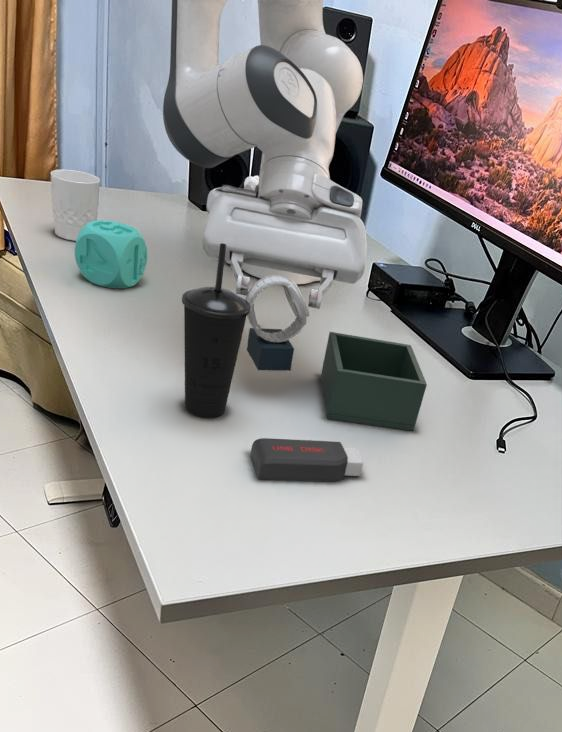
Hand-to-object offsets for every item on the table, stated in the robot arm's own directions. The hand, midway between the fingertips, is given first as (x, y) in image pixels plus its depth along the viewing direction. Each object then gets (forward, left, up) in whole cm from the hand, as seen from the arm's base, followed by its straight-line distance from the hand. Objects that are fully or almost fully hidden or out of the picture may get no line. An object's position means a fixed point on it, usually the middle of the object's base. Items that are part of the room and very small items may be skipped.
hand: (278, 299), depth 94 cm
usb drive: (+19, +5, -13) cm, 23 cm away
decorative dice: (-32, -24, -13) cm, 42 cm away
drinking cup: (+8, -7, -13) cm, 16 cm away
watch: (-1, 0, -9) cm, 9 cm away
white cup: (-51, -33, -13) cm, 62 cm away
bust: (-79, -1, -13) cm, 80 cm away
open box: (-1, +14, -12) cm, 19 cm away
